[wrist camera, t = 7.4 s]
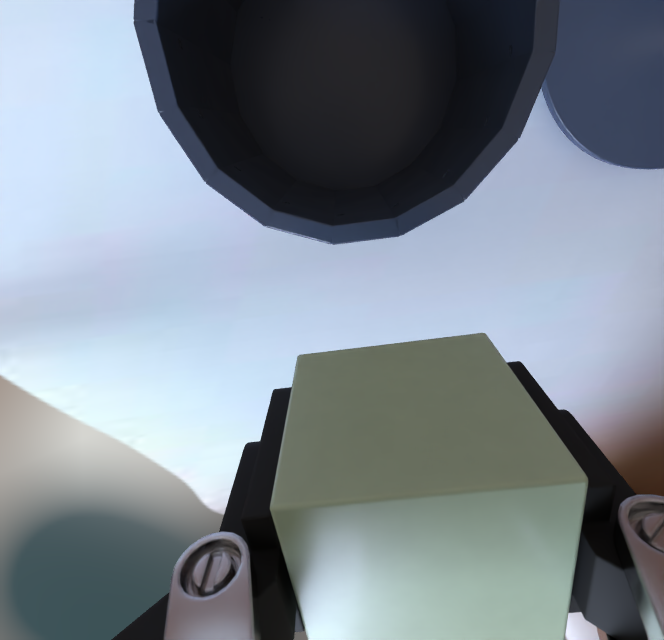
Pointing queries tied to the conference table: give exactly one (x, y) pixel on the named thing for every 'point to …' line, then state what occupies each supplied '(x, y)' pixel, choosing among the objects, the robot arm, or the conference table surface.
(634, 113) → the lid
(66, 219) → the conference table surface
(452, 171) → the pot
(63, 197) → the conference table surface
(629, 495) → the robot arm
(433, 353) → the block
